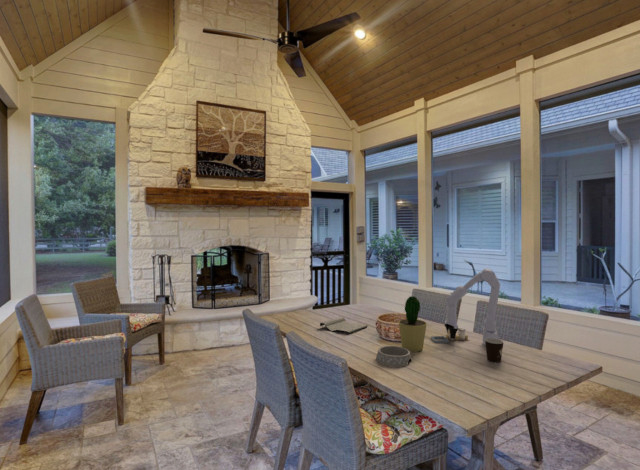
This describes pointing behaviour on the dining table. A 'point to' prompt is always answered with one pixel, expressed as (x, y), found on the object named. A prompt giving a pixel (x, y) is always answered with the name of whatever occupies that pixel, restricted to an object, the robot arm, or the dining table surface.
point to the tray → (439, 340)
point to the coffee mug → (494, 350)
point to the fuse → (461, 334)
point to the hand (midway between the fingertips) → (451, 337)
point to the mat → (342, 325)
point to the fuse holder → (458, 338)
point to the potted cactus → (412, 326)
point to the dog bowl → (393, 356)
